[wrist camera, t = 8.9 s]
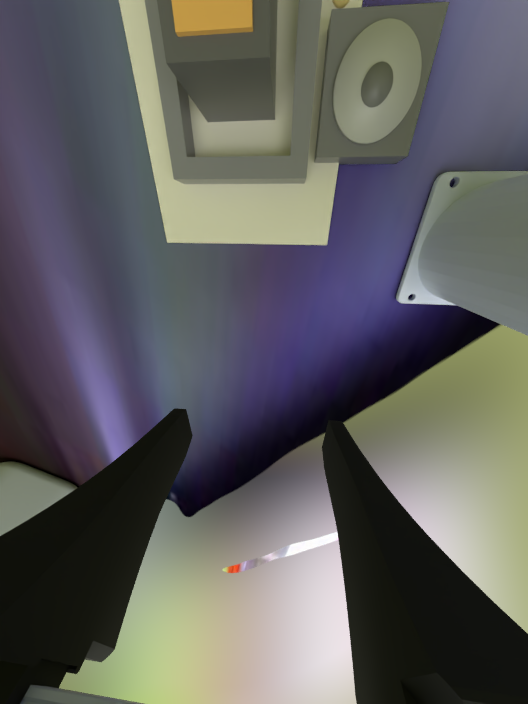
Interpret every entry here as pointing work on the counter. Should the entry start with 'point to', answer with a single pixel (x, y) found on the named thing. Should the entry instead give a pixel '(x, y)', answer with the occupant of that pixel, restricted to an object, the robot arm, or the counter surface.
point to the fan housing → (375, 81)
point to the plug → (223, 55)
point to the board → (239, 139)
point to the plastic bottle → (27, 493)
